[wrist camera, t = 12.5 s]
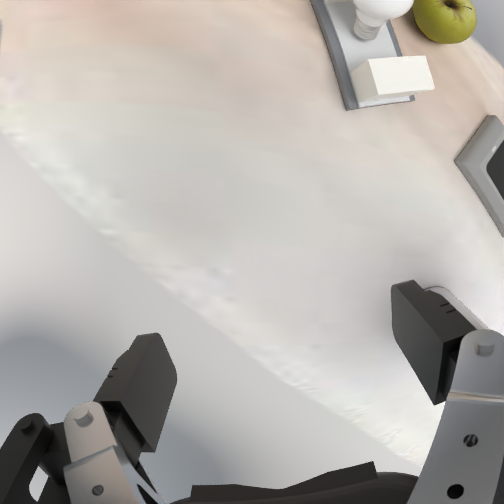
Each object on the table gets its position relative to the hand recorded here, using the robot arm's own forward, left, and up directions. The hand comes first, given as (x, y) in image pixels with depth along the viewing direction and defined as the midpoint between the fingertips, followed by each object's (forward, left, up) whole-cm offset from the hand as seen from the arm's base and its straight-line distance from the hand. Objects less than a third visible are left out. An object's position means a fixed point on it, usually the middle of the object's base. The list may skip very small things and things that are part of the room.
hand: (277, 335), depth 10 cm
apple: (+3, -33, -27) cm, 42 cm away
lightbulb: (+6, -22, -25) cm, 33 cm away
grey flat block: (-20, -27, -27) cm, 43 cm away
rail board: (+6, -22, -27) cm, 35 cm away
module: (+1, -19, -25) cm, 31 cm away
